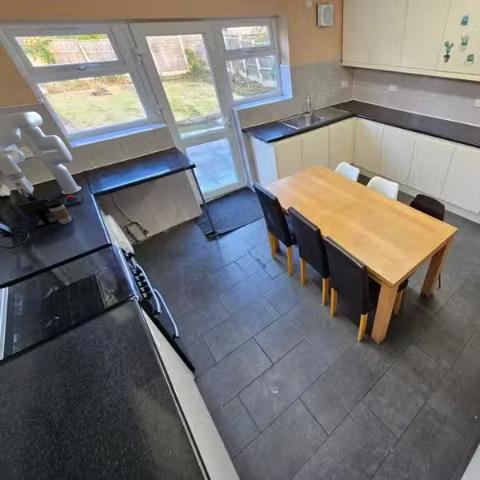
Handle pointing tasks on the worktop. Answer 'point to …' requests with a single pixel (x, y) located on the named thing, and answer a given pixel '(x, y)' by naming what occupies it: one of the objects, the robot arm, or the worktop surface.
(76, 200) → the switch box
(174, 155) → the worktop surface
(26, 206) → the screen
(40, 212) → the monitor stand
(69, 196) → the power button
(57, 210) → the coffee cup
